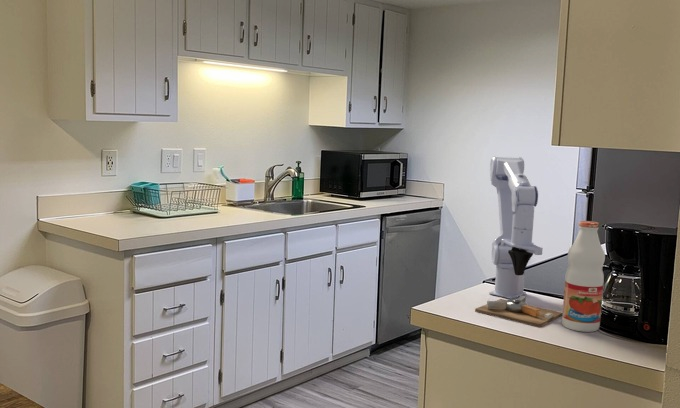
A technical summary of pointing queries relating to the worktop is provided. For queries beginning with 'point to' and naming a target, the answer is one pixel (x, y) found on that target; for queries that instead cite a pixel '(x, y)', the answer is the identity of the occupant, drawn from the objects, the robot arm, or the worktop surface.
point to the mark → (548, 315)
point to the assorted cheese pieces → (514, 306)
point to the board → (521, 315)
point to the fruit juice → (584, 280)
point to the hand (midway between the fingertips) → (519, 274)
